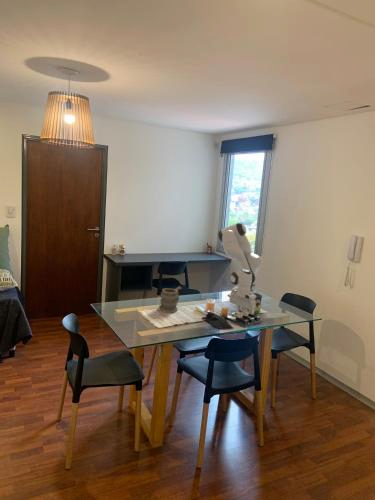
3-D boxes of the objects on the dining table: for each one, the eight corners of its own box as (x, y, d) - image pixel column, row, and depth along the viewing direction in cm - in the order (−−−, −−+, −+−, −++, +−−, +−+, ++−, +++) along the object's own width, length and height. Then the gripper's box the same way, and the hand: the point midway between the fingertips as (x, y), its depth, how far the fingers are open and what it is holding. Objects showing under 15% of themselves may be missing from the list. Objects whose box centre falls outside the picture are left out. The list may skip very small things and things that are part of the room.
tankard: (169, 314, 250) (171, 293, 247) (155, 308, 257) (157, 288, 254) (186, 308, 265) (188, 288, 263) (173, 303, 273) (175, 283, 270)
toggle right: (248, 313, 255) (249, 309, 254) (250, 312, 256) (251, 308, 256) (251, 314, 253) (252, 310, 252) (254, 314, 254) (254, 310, 254)
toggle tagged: (242, 315, 250) (243, 310, 250) (244, 314, 252) (245, 309, 251) (246, 316, 248) (246, 311, 247) (248, 315, 250) (248, 311, 249)
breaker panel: (224, 319, 251) (224, 313, 250) (242, 314, 265) (242, 308, 264) (243, 327, 239) (244, 321, 238) (261, 322, 253) (262, 316, 252)
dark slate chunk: (214, 330, 230) (215, 323, 229) (200, 317, 250) (201, 311, 249) (235, 329, 236) (236, 322, 235) (220, 317, 256) (221, 310, 255)
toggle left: (236, 316, 246) (237, 312, 245) (238, 316, 247) (239, 311, 247) (240, 318, 243) (240, 313, 243) (242, 317, 245) (242, 313, 245)
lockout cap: (219, 316, 256) (220, 307, 255) (223, 314, 259) (224, 306, 258) (224, 318, 253) (225, 309, 252) (228, 317, 256) (229, 308, 255)
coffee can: (262, 315, 266) (264, 297, 264) (250, 316, 262) (252, 297, 260) (254, 310, 276) (257, 292, 273) (242, 311, 272) (245, 292, 269)
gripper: (228, 289, 255) (226, 308, 258) (252, 298, 241) (249, 317, 243) (234, 288, 260) (232, 306, 262) (258, 296, 245) (255, 316, 248)
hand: (240, 312), depth 252 cm, fingers closed
